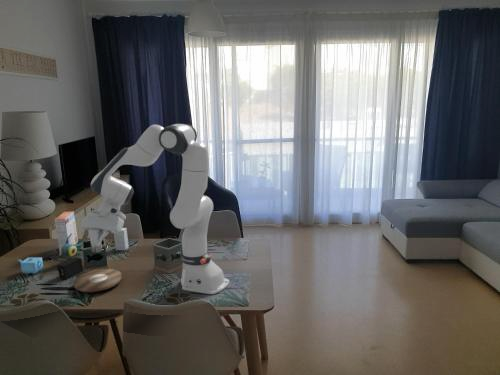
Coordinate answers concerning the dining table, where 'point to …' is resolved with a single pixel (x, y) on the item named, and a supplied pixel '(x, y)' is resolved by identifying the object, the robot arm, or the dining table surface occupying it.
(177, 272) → the dining table surface
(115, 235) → the skincare box
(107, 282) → the turntable platter
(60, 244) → the cracker box
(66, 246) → the decorative fish
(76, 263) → the digital camera
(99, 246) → the cast sleeve
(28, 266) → the teapot
